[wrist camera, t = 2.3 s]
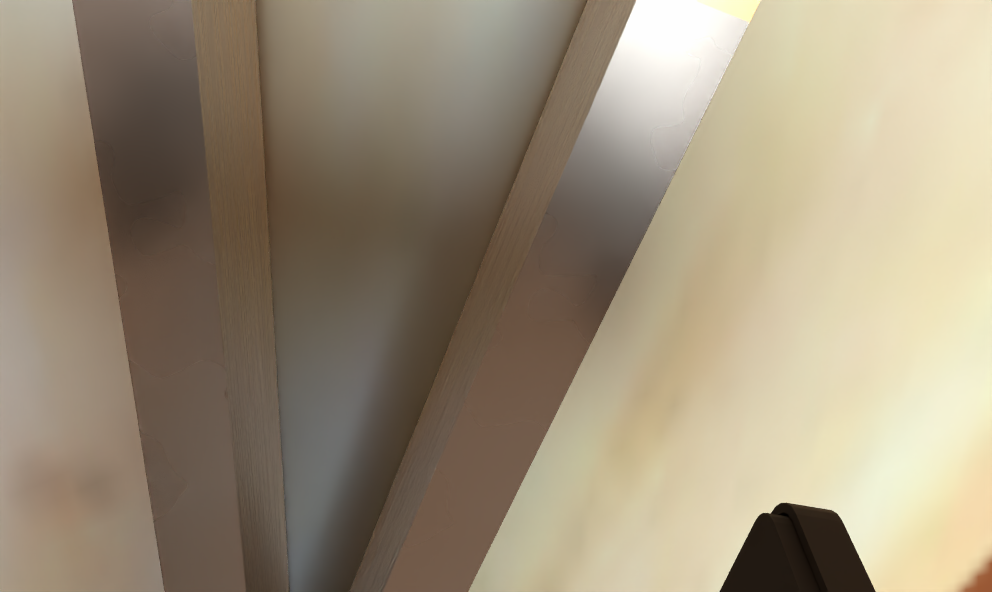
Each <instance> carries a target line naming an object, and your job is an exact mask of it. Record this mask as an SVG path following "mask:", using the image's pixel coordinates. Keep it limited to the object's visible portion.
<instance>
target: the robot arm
mask: <svg viewBox="0 0 992 592" xmlns="http://www.w3.org/2000/svg"><path fill="white" fill-rule="evenodd" d="M720 592H875V589H874V587H873V585H872V583H871V581H870V579H869V577H868V575H867V572H866V570H865V568H864V566H863V564H862V562H861V560H860V558H859V555H858V553H857V551H856V549H855V547H854V545H853V543H852V541H851V539H850V536H849V534H848V532H847V530H846V528H845V526H844V524H843V522H842V520H841V519H840V517H839V516H838V514H837V513H835V512H834V511H832V510H827V509H821V508H815V507H808V506H802V505H796V504H790V503H780V504H779V505H777V506H776V507H775V508H774V510H773V511H772V513H771V514H769V513H762V514H761V515H759V516H758V518H757V519H756V521H755V523H754V525H753V527H752V529H751V531H750V533H749V535H748V537H747V538H746V540H745V542H744V544H743V546H742V548H741V550H740V552H739V554H738V556H737V558H736V560H735V562H734V564H733V566H732V568H731V570H730V572H729V574H728V576H727V578H726V580H725V582H724V584H723V586H722V588H721V590H720Z"/></svg>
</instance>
